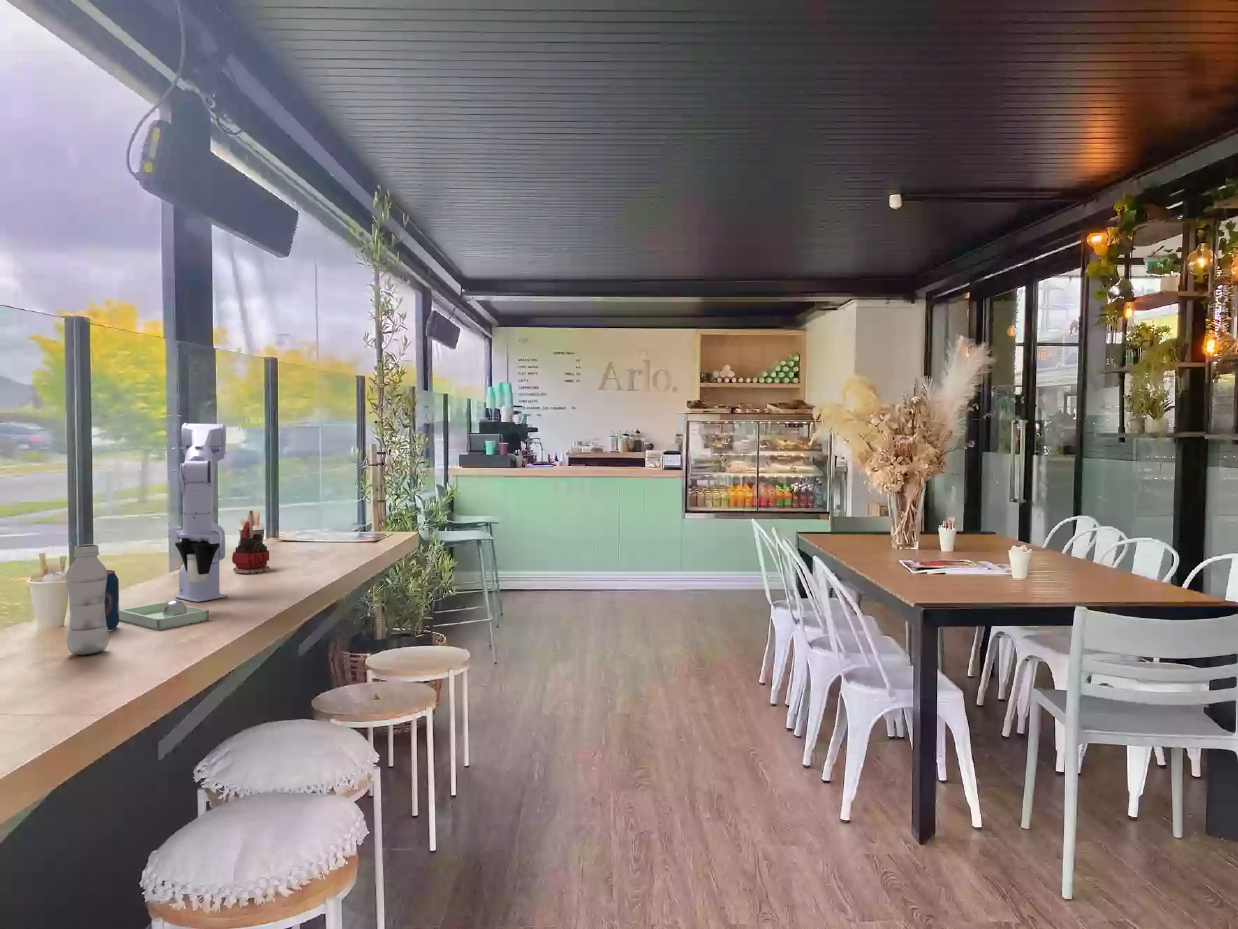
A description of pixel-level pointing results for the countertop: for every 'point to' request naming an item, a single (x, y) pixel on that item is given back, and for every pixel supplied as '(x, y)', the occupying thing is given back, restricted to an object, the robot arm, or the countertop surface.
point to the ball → (174, 608)
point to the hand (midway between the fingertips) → (197, 572)
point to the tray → (161, 616)
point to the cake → (250, 551)
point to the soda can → (112, 600)
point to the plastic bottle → (87, 602)
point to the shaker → (194, 570)
